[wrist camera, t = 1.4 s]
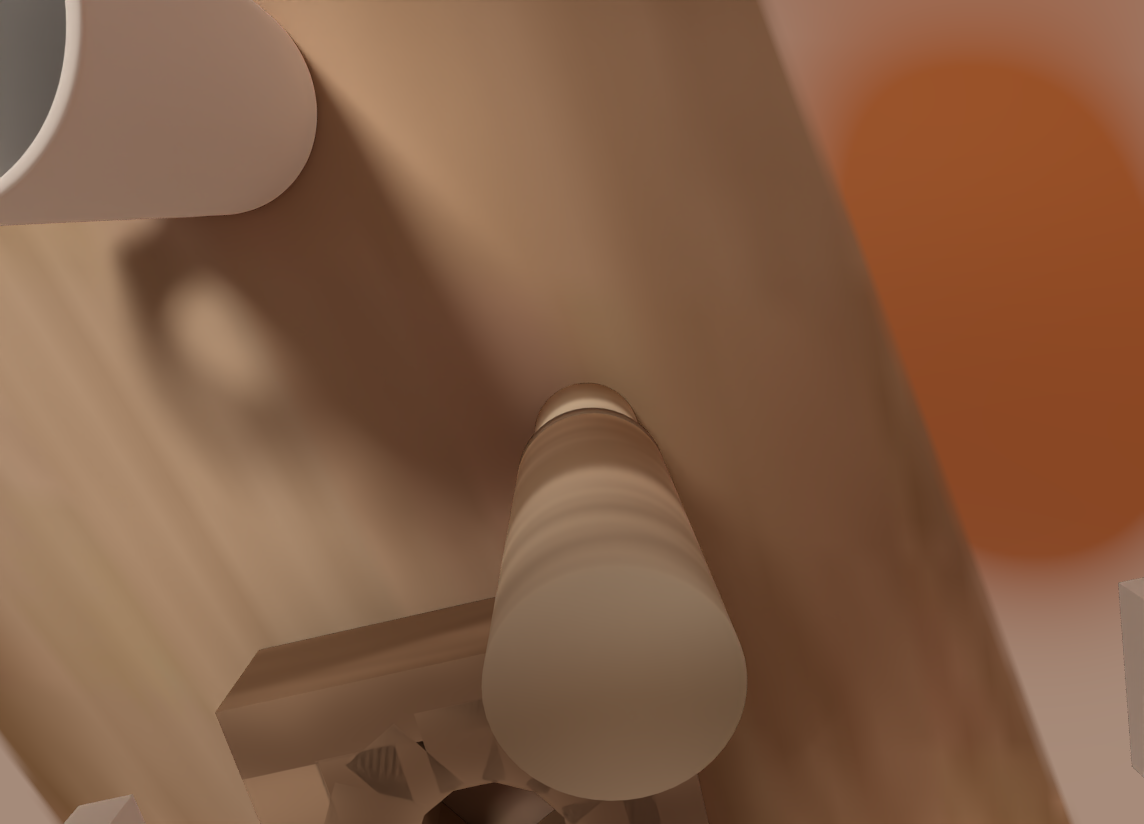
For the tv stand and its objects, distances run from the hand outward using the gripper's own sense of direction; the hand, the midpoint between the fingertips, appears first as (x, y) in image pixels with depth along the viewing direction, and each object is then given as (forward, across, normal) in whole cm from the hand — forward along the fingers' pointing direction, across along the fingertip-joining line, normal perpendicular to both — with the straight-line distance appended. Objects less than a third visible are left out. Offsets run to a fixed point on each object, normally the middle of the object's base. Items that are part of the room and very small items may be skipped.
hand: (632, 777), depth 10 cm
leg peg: (+16, 0, 0) cm, 16 cm away
